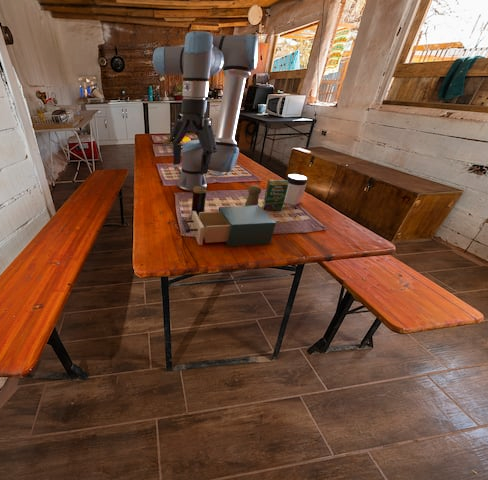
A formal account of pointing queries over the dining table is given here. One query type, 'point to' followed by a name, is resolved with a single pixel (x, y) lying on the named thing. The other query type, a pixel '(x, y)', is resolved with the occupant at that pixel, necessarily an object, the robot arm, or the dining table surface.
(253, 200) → the olive peanut shape
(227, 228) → the drawer
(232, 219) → the cabinet
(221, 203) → the dining table surface
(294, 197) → the jar
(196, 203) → the tin
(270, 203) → the coffee box
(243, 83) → the robot arm
